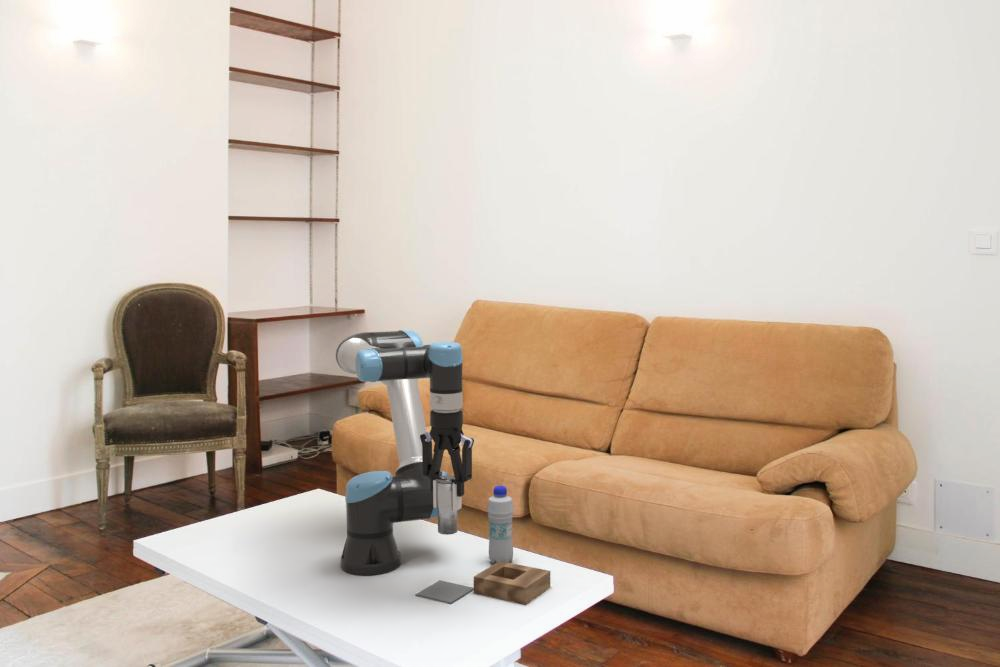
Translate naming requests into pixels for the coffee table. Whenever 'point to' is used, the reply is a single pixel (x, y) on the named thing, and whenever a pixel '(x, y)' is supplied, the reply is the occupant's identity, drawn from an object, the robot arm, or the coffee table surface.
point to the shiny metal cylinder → (446, 505)
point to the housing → (512, 582)
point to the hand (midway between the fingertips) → (447, 507)
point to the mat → (445, 592)
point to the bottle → (500, 526)
